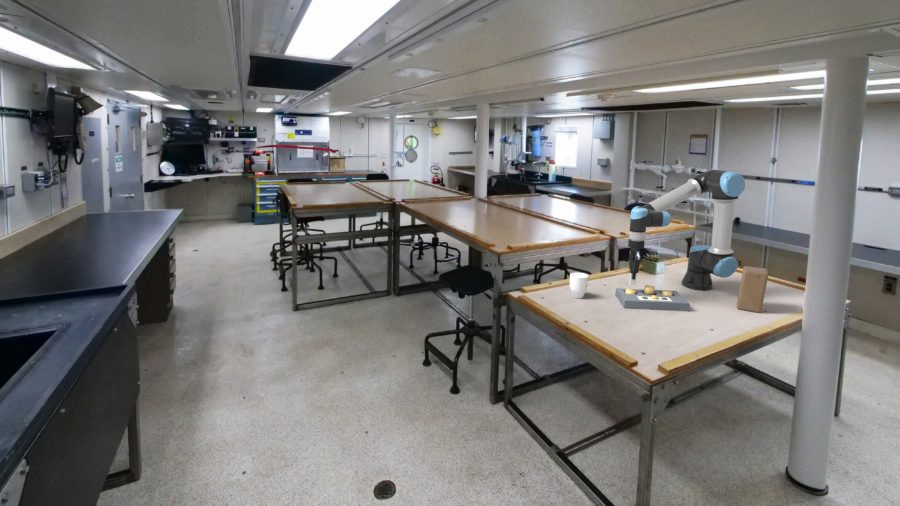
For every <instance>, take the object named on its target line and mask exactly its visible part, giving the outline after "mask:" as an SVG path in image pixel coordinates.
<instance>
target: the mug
mask: <svg viewBox="0 0 900 506" xmlns="http://www.w3.org/2000/svg"><path fill="white" fill-rule="evenodd" d="M588 277H589V276H588V274H587V273H582V272H571V273H570V274H569V290H570V292H571V295H572V297H573V298H576V299H583V298H584V295H586V292H587V290H588V289H587V288H588V280H589V278H588Z"/></svg>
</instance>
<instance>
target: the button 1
mask: <svg viewBox="0 0 900 506" xmlns="http://www.w3.org/2000/svg"><path fill="white" fill-rule="evenodd" d="M625 289H626V292H625V293H626V294H635V293H636V290H634V289H635V288H625Z"/></svg>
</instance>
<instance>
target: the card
mask: <svg viewBox="0 0 900 506" xmlns="http://www.w3.org/2000/svg"><path fill="white" fill-rule="evenodd" d="M637 297H638V298H639V300H647V301H669V302H672V300H671V299H670V298H669V297H658V296H656V295H652V297H648V296H637Z"/></svg>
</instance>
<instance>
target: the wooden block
mask: <svg viewBox="0 0 900 506" xmlns="http://www.w3.org/2000/svg"><path fill="white" fill-rule="evenodd" d="M768 278H769V271H768V269H767V268H764V267H757V266H749V265H745V266H743V268H742V273H741V279H740V284H739V285H740V286H739V290H738V296H737V299H736V300H737V302H736V309H738V310H741V311H747V312H753V313H758V314H759V313H761V312H762V310H763V305H764V299H765V294H766V289H767V283H768Z"/></svg>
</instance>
